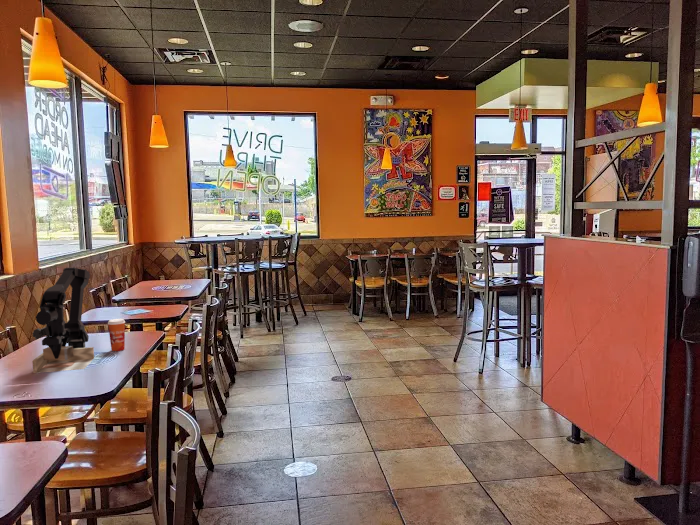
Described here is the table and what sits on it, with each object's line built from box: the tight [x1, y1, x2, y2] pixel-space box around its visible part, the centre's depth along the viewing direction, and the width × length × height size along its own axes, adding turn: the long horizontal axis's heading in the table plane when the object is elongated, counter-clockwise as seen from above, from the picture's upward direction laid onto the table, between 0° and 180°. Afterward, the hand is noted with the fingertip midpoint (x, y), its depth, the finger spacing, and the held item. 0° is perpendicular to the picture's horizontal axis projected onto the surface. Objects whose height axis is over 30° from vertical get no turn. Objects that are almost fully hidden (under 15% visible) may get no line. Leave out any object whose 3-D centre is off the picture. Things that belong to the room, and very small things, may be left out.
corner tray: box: [31, 346, 95, 374], centre depth 222 cm, size 19×17×6 cm
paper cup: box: [107, 318, 126, 352], centre depth 248 cm, size 8×8×14 cm
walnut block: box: [42, 345, 74, 360], centre depth 222 cm, size 5×10×5 cm, turn 88°
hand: (58, 356), depth 222 cm, fingers closed on walnut block, 5 cm apart
